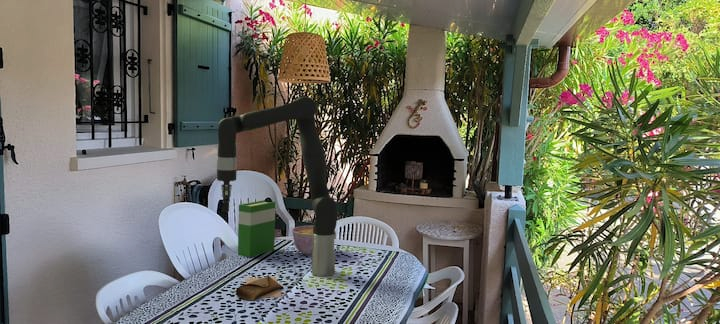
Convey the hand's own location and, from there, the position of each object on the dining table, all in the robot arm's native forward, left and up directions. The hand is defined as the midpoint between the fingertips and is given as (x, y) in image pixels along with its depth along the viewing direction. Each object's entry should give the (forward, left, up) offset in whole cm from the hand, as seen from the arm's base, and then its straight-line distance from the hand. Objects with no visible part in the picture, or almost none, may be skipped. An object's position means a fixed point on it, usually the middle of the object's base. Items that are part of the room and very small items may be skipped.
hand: (226, 211), depth 196 cm
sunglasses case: (-13, +19, -27) cm, 36 cm away
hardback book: (-15, -37, -27) cm, 48 cm away
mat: (-14, +14, -27) cm, 33 cm away
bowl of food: (-41, -32, -27) cm, 59 cm away
